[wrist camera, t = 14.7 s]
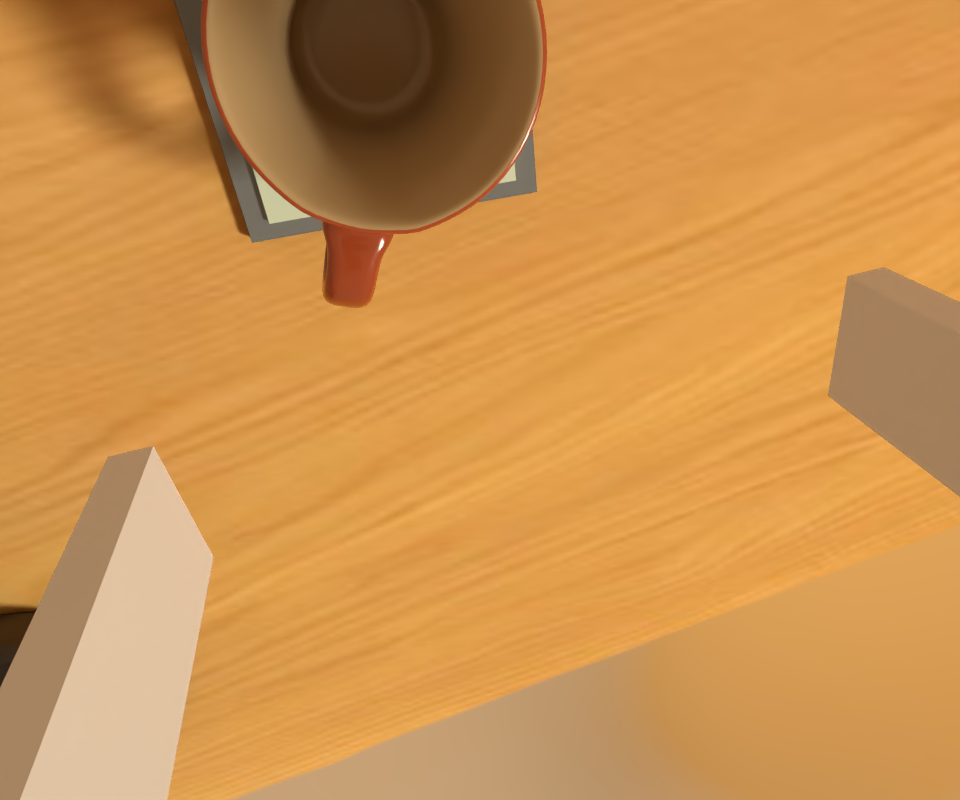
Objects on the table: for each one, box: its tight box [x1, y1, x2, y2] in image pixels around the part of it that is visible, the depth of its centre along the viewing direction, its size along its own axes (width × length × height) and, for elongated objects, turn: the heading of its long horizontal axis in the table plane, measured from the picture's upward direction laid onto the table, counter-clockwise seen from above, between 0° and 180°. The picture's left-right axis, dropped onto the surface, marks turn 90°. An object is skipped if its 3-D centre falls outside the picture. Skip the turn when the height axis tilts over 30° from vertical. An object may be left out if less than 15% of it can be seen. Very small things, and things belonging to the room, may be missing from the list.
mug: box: [201, 0, 547, 308], centre depth 22 cm, size 12×9×10 cm
